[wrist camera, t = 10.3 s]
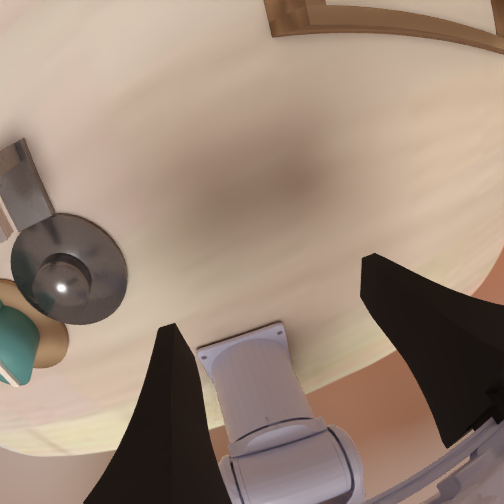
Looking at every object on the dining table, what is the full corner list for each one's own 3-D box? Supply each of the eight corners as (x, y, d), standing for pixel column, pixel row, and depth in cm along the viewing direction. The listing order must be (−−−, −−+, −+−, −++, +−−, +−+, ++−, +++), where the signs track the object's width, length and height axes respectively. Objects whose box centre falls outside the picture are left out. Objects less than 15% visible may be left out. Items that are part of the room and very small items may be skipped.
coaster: (89, 352, 22) (88, 357, 22) (17, 369, 21) (16, 374, 21) (23, 263, 17) (20, 267, 16) (-45, 297, 16) (-48, 301, 15)
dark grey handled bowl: (147, 301, 21) (148, 359, 17) (54, 330, 20) (42, 383, 16) (64, 115, 13) (24, 133, 9) (-36, 179, 12) (-81, 215, 8)
